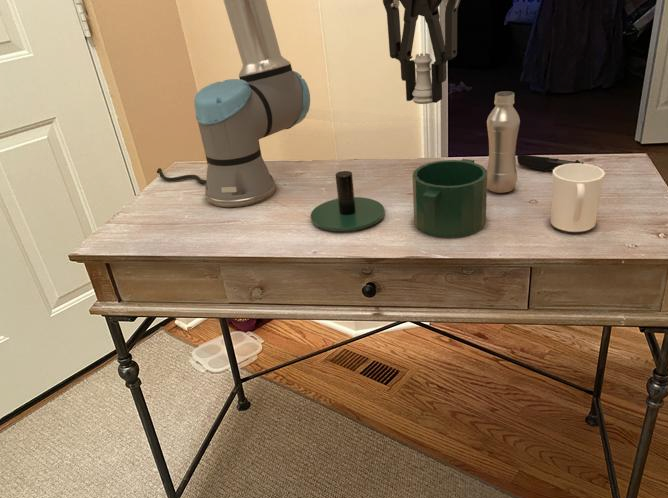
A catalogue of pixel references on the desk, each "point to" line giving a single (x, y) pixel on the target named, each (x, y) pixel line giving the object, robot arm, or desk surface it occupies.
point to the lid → (347, 208)
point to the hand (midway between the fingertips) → (424, 99)
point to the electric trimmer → (542, 162)
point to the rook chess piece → (423, 80)
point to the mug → (575, 197)
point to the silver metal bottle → (502, 144)
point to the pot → (450, 198)
